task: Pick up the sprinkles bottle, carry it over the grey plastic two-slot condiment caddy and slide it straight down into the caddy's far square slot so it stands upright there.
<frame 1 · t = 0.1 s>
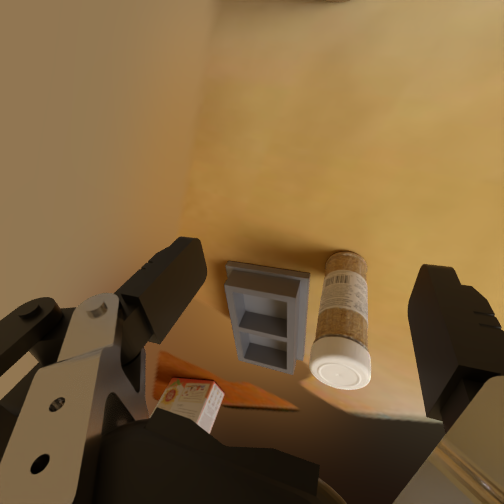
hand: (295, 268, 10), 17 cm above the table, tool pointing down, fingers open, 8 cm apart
caddy: (269, 312, 39), on the table
cracker box: (199, 384, 65), on the table
sprinkles bottle: (346, 264, 30), on the table
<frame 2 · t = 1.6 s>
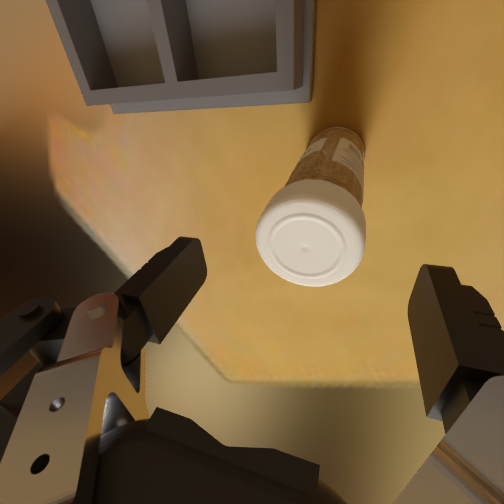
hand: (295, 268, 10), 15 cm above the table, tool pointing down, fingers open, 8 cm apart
caddy: (189, 21, 19), on the table
sprinkles bottle: (334, 155, 21), on the table
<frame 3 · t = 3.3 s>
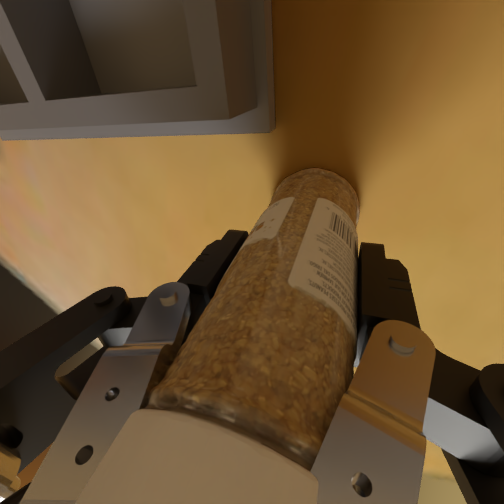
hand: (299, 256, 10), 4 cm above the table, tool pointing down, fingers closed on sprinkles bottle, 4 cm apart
caddy: (78, 3, 12), on the table
sprinkles bottle: (315, 207, 14), on the table, touching gripper
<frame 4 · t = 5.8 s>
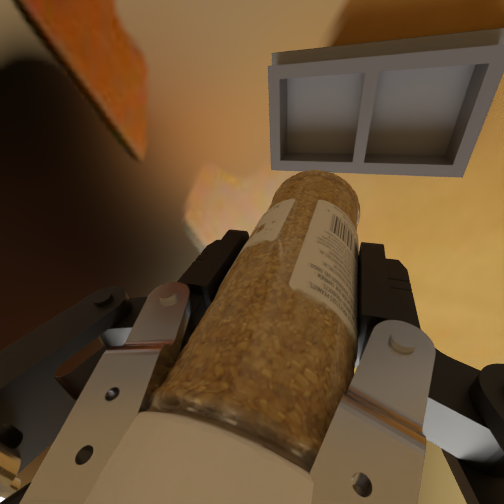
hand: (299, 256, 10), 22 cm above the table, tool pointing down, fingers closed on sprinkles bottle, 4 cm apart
caddy: (365, 114, 26), on the table
sprinkles bottle: (315, 209, 14), point 18 cm above the table, touching gripper
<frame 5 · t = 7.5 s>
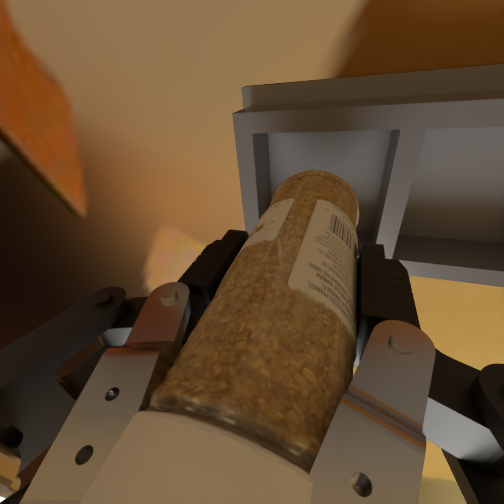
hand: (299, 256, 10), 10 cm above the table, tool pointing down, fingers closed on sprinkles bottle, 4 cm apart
caddy: (389, 176, 17), on the table
sprinkles bottle: (315, 209, 14), point 5 cm above the table, touching gripper
when the fingers open (6 cm above the table, at t = 8.6 s): sprinkles bottle stays where it is, resting on caddy.
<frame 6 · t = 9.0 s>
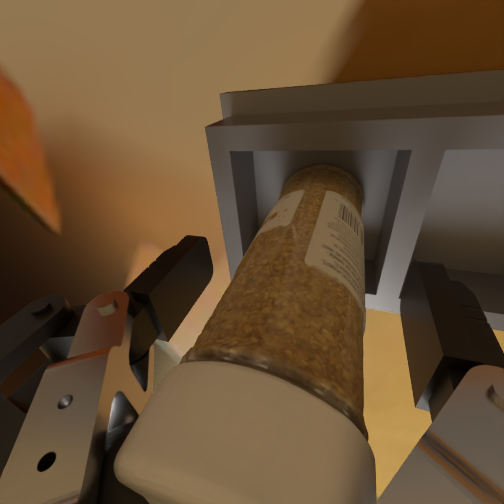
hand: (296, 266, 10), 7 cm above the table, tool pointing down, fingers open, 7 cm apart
caddy: (394, 198, 14), on the table
sprinkles bottle: (321, 202, 15), point 1 cm above the table, touching caddy
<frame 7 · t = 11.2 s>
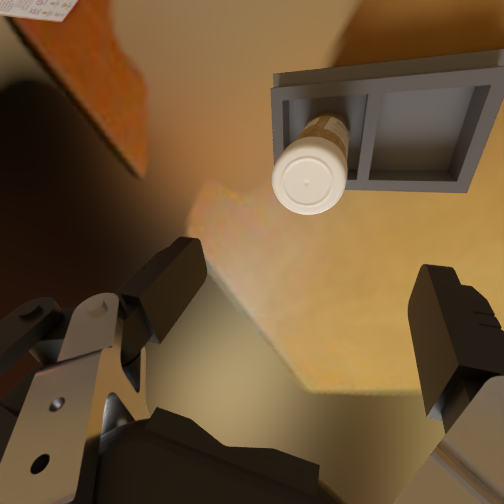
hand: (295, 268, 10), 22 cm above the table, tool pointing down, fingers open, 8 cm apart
caddy: (367, 131, 26), on the table
sprinkles bottle: (327, 135, 26), point 1 cm above the table, touching caddy
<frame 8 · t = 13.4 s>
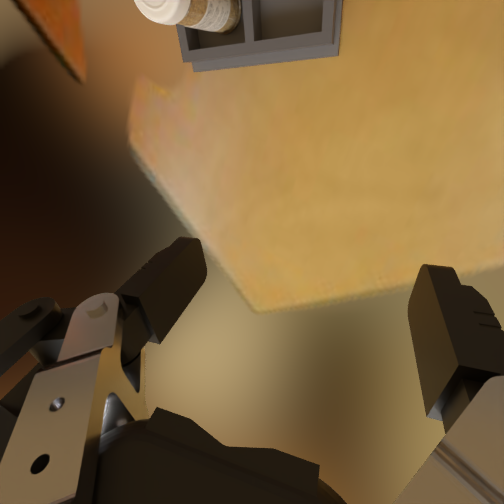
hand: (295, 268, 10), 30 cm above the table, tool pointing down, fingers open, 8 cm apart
caddy: (258, 3, 29), on the table
sprinkles bottle: (225, 9, 30), point 1 cm above the table, touching caddy
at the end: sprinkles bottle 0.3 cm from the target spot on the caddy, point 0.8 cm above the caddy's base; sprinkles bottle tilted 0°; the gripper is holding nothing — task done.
